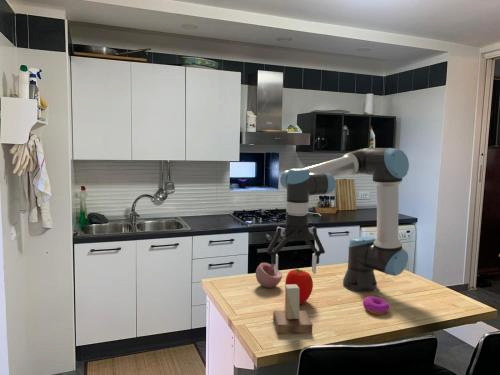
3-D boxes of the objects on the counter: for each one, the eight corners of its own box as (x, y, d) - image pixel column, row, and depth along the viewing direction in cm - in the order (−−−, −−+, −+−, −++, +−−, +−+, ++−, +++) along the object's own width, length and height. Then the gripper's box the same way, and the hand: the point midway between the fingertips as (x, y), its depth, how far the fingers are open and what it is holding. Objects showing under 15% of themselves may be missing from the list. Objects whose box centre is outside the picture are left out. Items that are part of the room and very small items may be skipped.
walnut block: (304, 320, 143) (305, 310, 143) (311, 335, 132) (312, 324, 132) (273, 320, 142) (273, 310, 141) (277, 335, 131) (278, 324, 131)
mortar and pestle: (277, 293, 167) (278, 268, 165) (251, 289, 170) (252, 264, 169) (284, 284, 178) (285, 260, 176) (259, 280, 182) (260, 257, 180)
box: (285, 314, 139) (284, 284, 138) (296, 313, 139) (296, 283, 139) (287, 319, 133) (287, 288, 133) (300, 319, 134) (299, 287, 134)
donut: (379, 318, 146) (380, 307, 145) (356, 309, 154) (357, 298, 153) (393, 311, 152) (394, 300, 152) (371, 302, 160) (372, 292, 159)
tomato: (284, 295, 165) (286, 263, 163) (311, 297, 164) (312, 265, 162) (284, 307, 153) (285, 273, 151) (312, 309, 151) (314, 275, 150)
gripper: (329, 211, 137) (326, 268, 140) (259, 211, 134) (258, 269, 137) (335, 215, 129) (332, 276, 132) (262, 215, 127) (261, 277, 130)
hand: (294, 272), depth 135 cm, fingers open, 13 cm apart
